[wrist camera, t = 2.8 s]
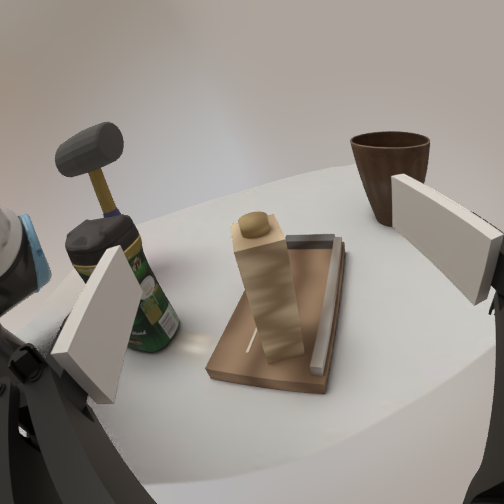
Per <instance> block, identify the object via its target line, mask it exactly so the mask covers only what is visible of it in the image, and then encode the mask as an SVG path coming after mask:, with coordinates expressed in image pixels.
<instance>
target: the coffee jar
mask: <svg viewBox="0 0 504 504" xmlns="http://www.w3.org/2000/svg"><path fill="white" fill-rule="evenodd" d="M118 245H120V246H121V248H122V250H123V252H124V255H125V257H126V259H127V261H128V263H129V265H130V267H131V269H132V271H133V273H134V275H135V277H136V279H137V281H138V283H139V285H140V287H141V289H142V291H143V293H142V296H141V299H140V303H139V306H138V309H137V313H136V316H135V320H134V323H133V327H132V331H131V334H130V338H129V342H128V347H130V348H133V349H137V350H142V351H149V352H154V351H158V350H160V349H161V348H163V347H164V346H166V345H167V344H168V343H169V342H170V341H171V340H172V338H173V337H174V335H175V334H176V332H177V329H178V326H179V318H178V316H177V314H176V313H175V311H174V309H173V307H172V306H171V304H170V302H169V301H168V299H167V297H166V296H165V294H164V292H163V291H162V289H161V287H160V285H159V283H158V281H157V279H156V277H155V276H154V274H153V272H152V270H151V268H150V266H149V264H148V262H147V259H146V257H145V254H144V252H143V248H142V241H141V237H140V234H139V232H138V230H137V228H136V226H135V225H134V223H133V221H132V219H131V218H130V216H128V215H123V214H121V215H118V216H114V217H108V218H101V219H95V220H85V221H84V222H82V223H81V224H80V225H78V226H77V227H76V228H75V229H73V230H72V231H71V232H70V233H68V235H67V239H66V243H65V247H66V250H67V253H68V255H69V258H70V260H71V262H72V265H73V266H74V268H75V269H76V271H77V272H78V273H79V275H80V276H81V278H82V279H83V281H84V282H85V284H86V283H87V281H88V280H89V278H90V276H91V274H92V273H93V271H94V269H95V268H96V266H97V264H98V263H99V261H100V259H101V258H102V256H103V254H104V253H105V251H106V250H107V249H109V248H112V247H115V246H118Z"/></svg>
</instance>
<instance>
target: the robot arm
mask: <svg viewBox="0 0 504 504" xmlns="http://www.w3.org/2000/svg"><path fill="white" fill-rule="evenodd" d="M391 181H392V227H393V228H394V229H395V230H397V231H398V232H399V233H400V234H401V235H402V236H403V237H405V238H406V239H407V240H408V241H409V242H410V243H411V244H412V245H413V246H415V247H416V248H417V249H418V250H419V251H420V252H421V253H422V254H423V255H424V256H425V257H426V258H427V259H429V260H430V261H431V262H432V263H433V264H434V265H435V266H436V267H437V268H438V269H439V270H440V271H441V272H442V273H443V274H444V275H445V276H446V277H447V278H448V279H449V280H450V281H451V282H452V283H453V284H454V285H455V286H456V287H457V288H458V289H459V290H460V291H461V292H462V293H463V294H464V296H465V297H466V298H467V299H468V300H469V301H470V302H471V303H472V304H473V305H474V306H475V305H477V304H478V303H480V302H482V301H484V300H486V299H487V297H488V294H489V291H490V287H491V286H492V287H493V288H494V289H495V290H496V292H495V295H494V298H493V301H492V304H491V307H490V310H489V314H490V315H491V313H492V310H493V309H494V308H495V314H494V315H495V325H496V367H495V384H494V396H493V405H492V413H491V420H490V426H489V432H488V437H487V442H486V448H485V452H484V456H483V460H482V463H481V466H480V468H479V470H478V471H477V473H476V474H475V476H474V478H473V479H472V481H471V483H470V485H469V488H468V490H467V493H466V496H465V499H464V501H463V504H504V233H503V232H502V231H500V230H499V229H497V228H496V227H495V226H493V225H492V224H490V223H488V222H487V221H486V220H484V219H482V218H481V217H480V216H478V215H477V214H475V213H474V212H471V211H469V210H467V209H465V208H464V207H462V206H461V205H459V204H457V203H455V202H454V201H452V200H451V199H449V198H447V197H446V196H444V195H442V194H441V193H439V192H437V191H435V190H433V189H432V188H430V187H428V186H426V185H424V184H423V183H421V182H419V181H417V180H415V179H413V178H411V177H409V176H407V175H405V174H399V175H394V176H391ZM51 275H52V274H51V270H50V267H49V265H48V262H47V260H46V257H45V255H44V253H43V251H42V248H41V245H40V243H39V240H38V237H37V235H36V232H35V229H34V227H33V224H32V222H31V219H30V216H29V215H28V214H24V215H19V216H17V215H16V214H15V212H13V211H12V210H10V209H8V208H4V207H0V317H1V316H3V315H4V314H6V313H7V312H8V311H9V310H11V309H12V308H14V307H15V306H17V305H18V304H19V303H21V302H22V301H23V300H25V299H26V298H28V297H29V296H31V295H32V294H33V293H36V292H38V291H39V290H40V289H41V288H42V287H43V286H44V285H46V284H47V283H48V282H49V281H50V279H51ZM142 293H143V291H142V289H141V287H140V285H139V283H138V281H137V279H136V277H135V275H134V273H133V271H132V269H131V267H130V265H129V263H128V261H127V259H126V257H125V255H124V252H123V250H122V248H121V246H120V245H118V246H115V247H112V248H109V249H107V250H106V251H105V253H104V254H103V256H102V258H101V259H100V261H99V263H98V264H97V266H96V268H95V269H94V271H93V273H92V274H91V276H90V278H89V280H88V281H87V283H86V285H85V287H84V289H83V290H82V292H81V294H80V296H79V298H78V299H77V301H76V303H75V305H74V307H73V309H72V311H71V312H70V313H69V315H68V316H67V317H66V318H65V319H64V321H63V323H62V325H61V327H60V330H59V331H58V333H57V335H56V336H57V338H55V339H54V342H53V344H52V346H51V348H50V350H49V352H48V355H47V357H46V359H44V358H43V357H42V355H41V354H40V353H39V352H38V351H37V349H36V348H35V347H34V346H33V344H30V343H27V344H26V343H25V342H23V341H22V340H20V339H19V338H18V337H16V336H15V335H13V334H12V333H11V332H9V331H8V330H6V329H5V328H4V327H3V326H2V325H1V324H0V504H157V503H156V502H155V501H154V500H153V499H152V497H151V496H150V495H149V494H148V493H147V491H146V490H145V489H144V487H143V486H142V485H141V484H140V482H139V481H138V480H137V478H136V477H135V476H134V474H133V473H132V472H131V470H130V469H129V467H128V466H127V465H126V463H125V462H124V460H123V459H122V457H121V456H120V454H119V453H118V451H117V450H116V448H115V447H114V445H113V444H112V442H111V441H110V439H109V437H108V436H107V434H106V433H105V431H104V429H103V428H102V426H101V424H100V422H99V421H98V419H97V417H96V415H95V414H94V412H93V410H92V408H91V407H90V406H89V405H88V404H87V403H86V401H87V397H88V395H89V396H90V397H91V398H92V399H93V400H94V401H95V402H96V403H97V404H113V403H114V402H115V397H116V392H117V387H118V383H119V378H120V374H121V370H122V366H123V361H124V357H125V353H126V349H127V346H128V342H129V338H130V334H131V331H132V327H133V323H134V320H135V316H136V313H137V309H138V306H139V303H140V299H141V296H142ZM19 426H20V427H21V428H22V429H23V430H25V431H26V432H27V437H24V436H23V435H22V434H20V433H19Z"/></svg>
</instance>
